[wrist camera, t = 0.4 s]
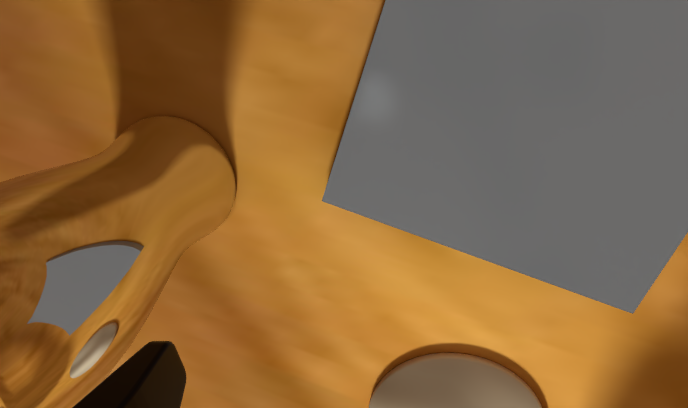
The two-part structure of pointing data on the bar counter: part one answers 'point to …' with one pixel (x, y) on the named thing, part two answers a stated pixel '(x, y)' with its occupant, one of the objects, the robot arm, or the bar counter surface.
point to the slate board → (528, 136)
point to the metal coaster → (452, 384)
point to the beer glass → (99, 254)
